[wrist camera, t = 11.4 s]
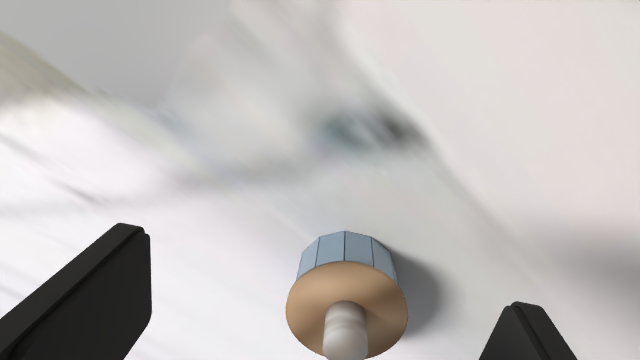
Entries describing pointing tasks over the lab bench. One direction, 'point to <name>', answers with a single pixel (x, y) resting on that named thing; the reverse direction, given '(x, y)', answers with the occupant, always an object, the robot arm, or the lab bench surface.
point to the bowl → (347, 252)
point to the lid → (346, 310)
